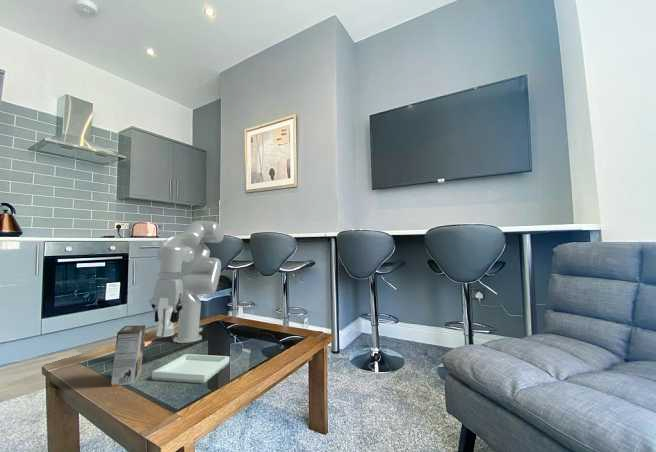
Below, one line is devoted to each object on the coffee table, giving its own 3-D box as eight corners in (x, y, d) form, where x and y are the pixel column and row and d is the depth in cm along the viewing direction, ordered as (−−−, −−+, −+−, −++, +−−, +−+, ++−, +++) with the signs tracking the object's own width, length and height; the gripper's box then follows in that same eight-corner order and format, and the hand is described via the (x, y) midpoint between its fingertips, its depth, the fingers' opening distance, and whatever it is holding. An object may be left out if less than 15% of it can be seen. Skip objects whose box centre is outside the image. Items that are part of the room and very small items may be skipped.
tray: (185, 360, 107) (185, 353, 108) (229, 363, 105) (229, 356, 106) (151, 379, 89) (152, 371, 90) (204, 383, 88) (204, 375, 88)
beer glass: (166, 338, 105) (169, 298, 107) (150, 336, 107) (154, 297, 108) (179, 333, 112) (182, 295, 113) (164, 331, 113) (168, 294, 115)
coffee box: (118, 375, 92) (124, 325, 94) (141, 373, 95) (146, 324, 97) (109, 387, 84) (116, 332, 86) (134, 383, 86) (140, 330, 88)
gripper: (143, 276, 109) (139, 322, 107) (184, 278, 107) (181, 325, 105) (157, 275, 116) (153, 318, 114) (195, 276, 114) (192, 320, 113)
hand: (166, 321), depth 110 cm, fingers closed on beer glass, 6 cm apart
